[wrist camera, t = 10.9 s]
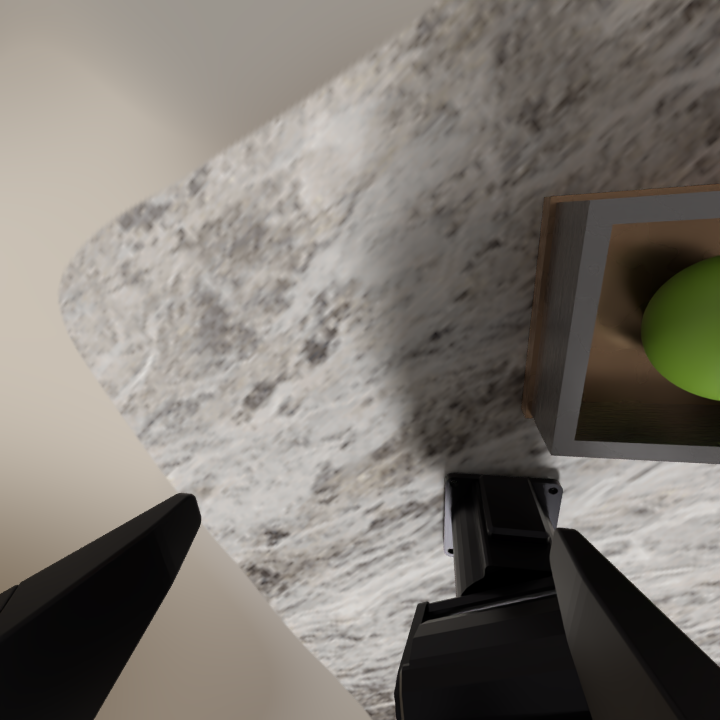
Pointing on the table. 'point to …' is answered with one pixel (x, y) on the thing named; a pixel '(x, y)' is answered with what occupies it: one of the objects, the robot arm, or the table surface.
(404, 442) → the table surface
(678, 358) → the snail figurine
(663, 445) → the grey planter box
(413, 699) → the robot arm
